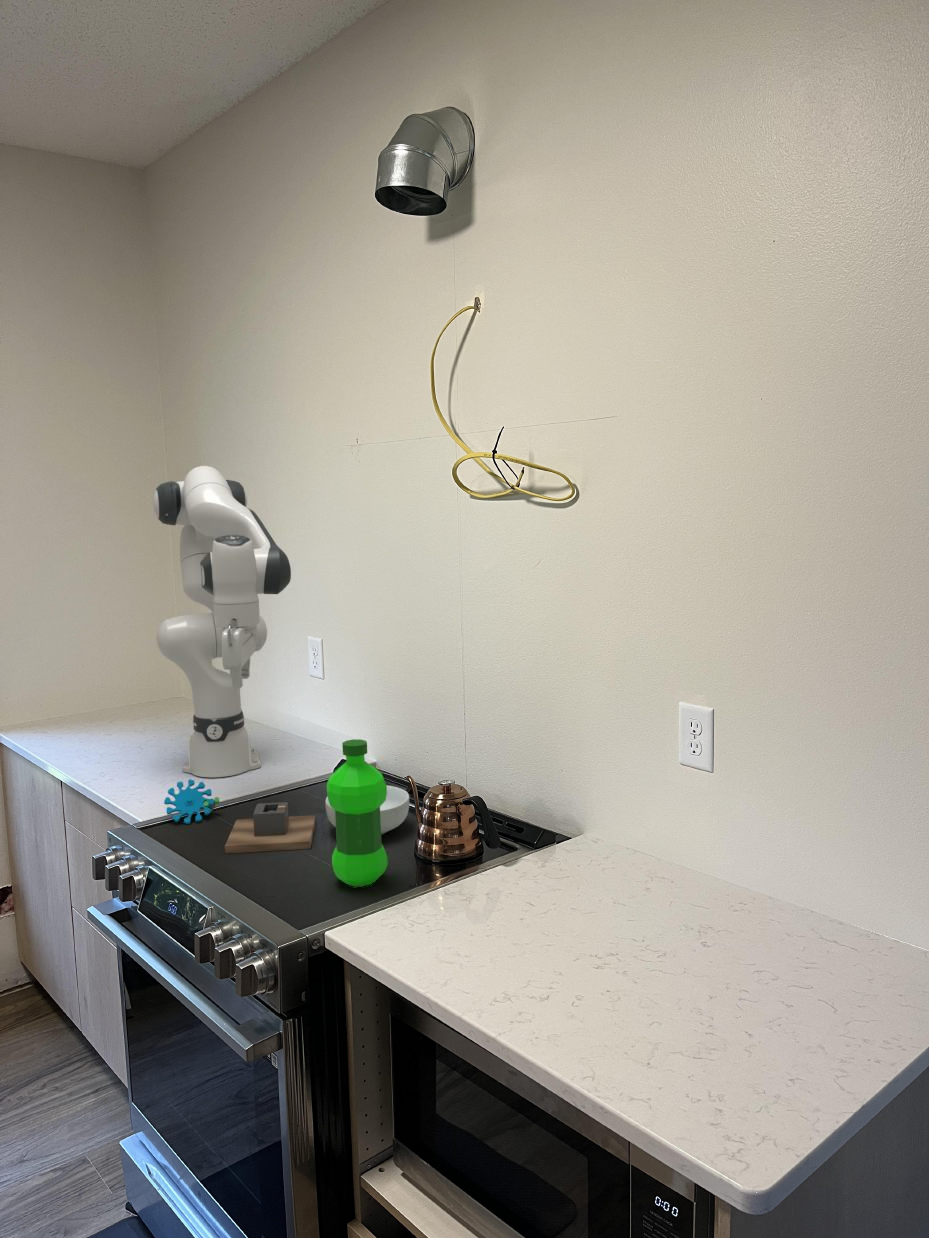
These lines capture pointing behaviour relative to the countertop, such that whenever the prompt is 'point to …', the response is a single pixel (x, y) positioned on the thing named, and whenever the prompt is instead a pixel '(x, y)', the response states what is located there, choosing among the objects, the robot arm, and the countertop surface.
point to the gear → (190, 801)
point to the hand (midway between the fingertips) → (241, 682)
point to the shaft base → (294, 839)
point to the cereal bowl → (385, 809)
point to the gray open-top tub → (271, 819)
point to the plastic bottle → (357, 817)
